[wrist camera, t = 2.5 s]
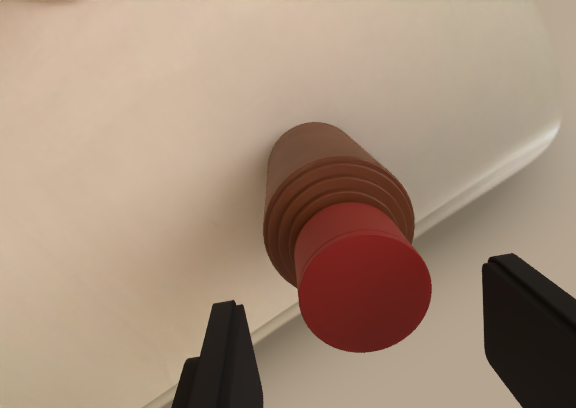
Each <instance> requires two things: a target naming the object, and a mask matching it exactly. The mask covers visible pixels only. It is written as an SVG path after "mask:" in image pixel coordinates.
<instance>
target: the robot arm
mask: <svg viewBox="0 0 576 408" xmlns="http://www.w3.org/2000/svg"><path fill="white" fill-rule="evenodd" d="M482 285H483V316H484V348H485V354H486V357H487V360H488V362H489V364H490V365H491V366H492V368H493V369H494V370H495V372H496V373H497V374H498V376H499V377H500V378H501V380H502V381H503V382H504V384H505V385H506V386H507V388H508V389H509V390H510V392H511V393H512V394H513V396H514V397H515V398H516V400H517V401H518V402H519V403H520V405H521V406H522V407H523V408H576V299H575V298H573V297H572V296H571V295H569V294H568V293H567V292H565V291H564V290H562V289H561V288H560V287H558V286H557V285H556V284H554V283H553V282H552V281H550V280H549V279H548V278H546V277H545V276H544V275H542V274H541V273H540V272H538V271H537V270H535V269H534V268H533V267H531V266H530V265H529V264H527V263H526V262H525V261H523V260H522V259H521V258H519V257H518V256H517V255H515V254H513V253H511V254H505V255H499V256H493V257H490V258H489V260H488V263H484V264H483V266H482ZM171 408H263V392H262V385H261V381H260V377H259V372H258V368H257V363H256V359H255V354H254V350H253V345H252V341H251V336H250V332H249V328H248V323H247V319H246V314H245V310H244V306H243V304H241V305H236V303H235V301H234V300H232V301H226V302H220V303H214V304H213V306H212V310H211V314H210V318H209V322H208V326H207V330H206V334H205V338H204V342H203V346H202V350H201V354H200V357H194V358H188V359H187V360H186V361H185V364H184V367H183V370H182V373H181V377H180V380H179V384H178V387H177V390H176V394H175V397H174V400H173V404H172V407H171Z"/></svg>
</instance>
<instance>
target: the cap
mask: <svg viewBox="0 0 576 408" xmlns="http://www.w3.org/2000/svg"><path fill="white" fill-rule="evenodd" d="M294 259H295V269H296V278H297V288H298V297H299V307H300V310H301V314H302V316H303V319H304V321H305V322H306V324H307V326H308V328H309V329H310V330H311V331H312V332H313V334H315V335H316V336H317V337H318V338H319V339H320V340H322V341H323V342H325V343H326V344H328V345H330V346H332V347H334V348H337V349H340V350H344V351H348V352H356V353H357V352H358V353H359V352H361V353H362V352H363V353H365V352H372V351H378V350H382V349H385V348H388V347H390V346H392V345H394V344H397V343H398V342H400V341H401V340H403V339H404V338H406V337H407V336H408V335H410V334H411V333H412V332H413V331H414V330H415V329H416V328H417V326H418V325H419V324H420V323H421V321H422V319H423V318H424V316H425V314H426V312H427V310H428V307H429V304H430V299H431V293H432V292H431V290H432V284H431V278H430V274H429V271H428V268H427V266H426V264H425V262H424V261H423V259H422V258H421V256H420V255H419V254H418V253H417V251H416V250H415V249H414V248H413V246H412V245H411V244H410V242H409V241H408V240H407V239H406V237H405V236H404V235H403V234H402V232H401V231H400V230H399V228H398V227H397V226H396V225H395V223H394V222H393V221H392V220H391V219H390V218H389V217H388V216H387V215H386V214H385V213H384V212H382V211H381V210H379V209H377V208H375V207H373V206H371V205H367V204H364V203H357V202H347V203H340V204H335V205H332V206H329V207H327V208H325V209H323V210H321V211H320V212H318V213H317V214H315V215H314V216H313V217H312V218H311V219H309V221H308V222H307V223H306V224H305V225H304V227H303V228H302V230H301V231H300V234H299V236H298V238H297V241H296V245H295V250H294Z"/></svg>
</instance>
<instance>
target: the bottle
mask: <svg viewBox="0 0 576 408" xmlns="http://www.w3.org/2000/svg"><path fill="white" fill-rule="evenodd" d="M347 202H357V203H364V204H367V205H371V206H373V207H375V208H377V209H379V210H381V211H382V212H384V213H385V214H386V215H387V216H388V217H389V218H390V219H391V220H392V221H393V222H394V223H395V225H396V226H397V227H398V228H399V230H400V231H401V232H402V234H403V235H404V236H405V237H406V239H407V240H408V241H409V242H410V244H412V240H413V236H414V228H415V224H414V212H413V207H412V204H411V201H410V198H409V196H408V194H407V192H406V190H405V189H404V187H403V186H402V184H401V183H400V182H399V181H398V180H397V178H396V177H395V176H394V175H392V174H391V173H390V172H389V171H388V170H387V169H386V168H384V167H383V166H382V165H381V164H380V163H379V162H378V161H376V160H375V159H374V158H373V157H372V156H371V155H369V154H368V153H367V152H366V151H365V150H364V149H363V148H361V147H360V146H359V145H358V144H357V143H356V142H355V141H353V140H352V139H351V138H350V137H349V136H348V135H347V134H345V133H344V132H343V131H342V130H340V129H338V128H337V127H334V126H332V125H329V124H326V123H319V122H312V123H305V124H301V125H299V126H296V127H294V128H292V129H290V130H289V131H287V132H286V133H285V134H284V135H283V136H281V137H280V139H279V140H278V141H277V142H276V144H275V145H274V147H273V149H272V151H271V154H270V157H269V162H268V171H267V184H266V197H265V210H264V223H263V236H264V244H265V247H266V251H267V254H268V256H269V258H270V261H271V262H272V264H273V266H274V267H275V269H276V270H277V271H278V272H279V274H280V275H281V276H282V277H283V278H284V279H285V280H286V281H287V282H289V283H290V284H292V285H293V286H294V287H296V288H297V278H296V269H295V259H294V250H295V245H296V241H297V238H298V236H299V234H300V231H301V230H302V228H303V227H304V225H305V224H306V223H307V222H308V221H309V219H311V218H312V217H313V216H314V215H315V214H317V213H318V212H320V211H321V210H323V209H325V208H327V207H329V206H332V205H335V204H340V203H347ZM297 289H298V288H297Z"/></svg>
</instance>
